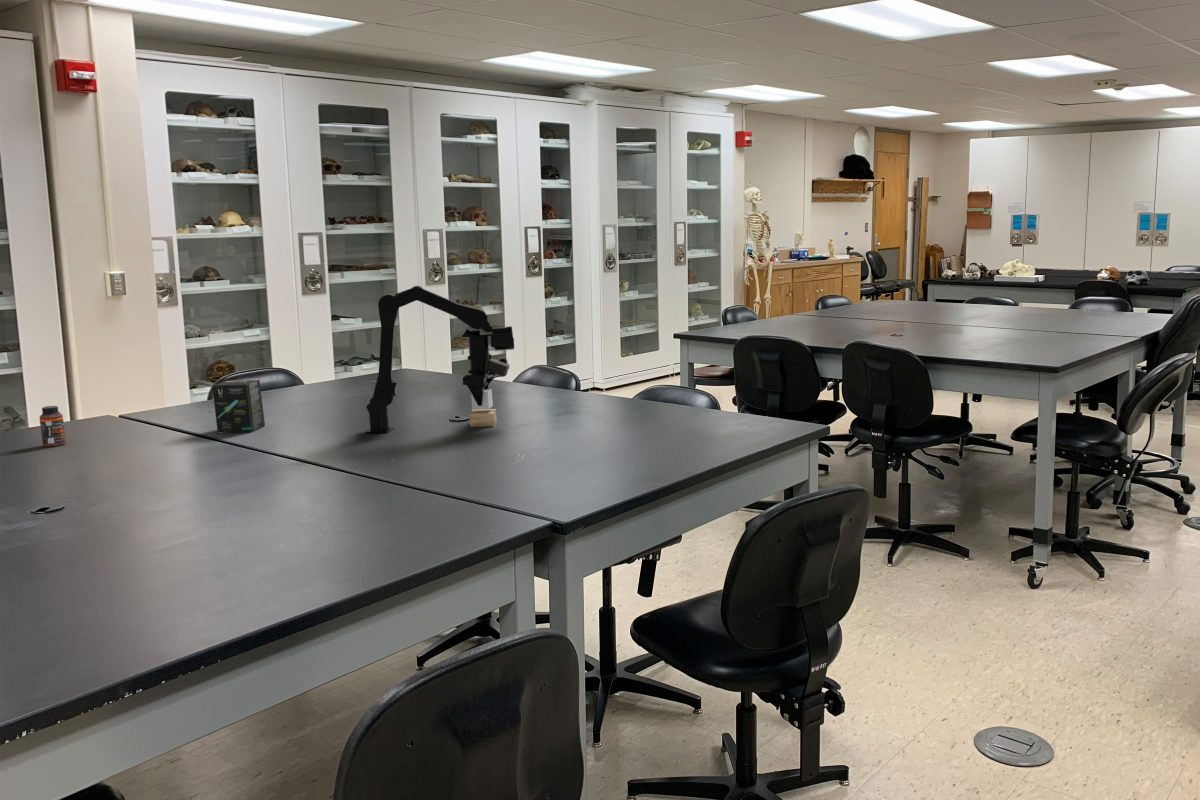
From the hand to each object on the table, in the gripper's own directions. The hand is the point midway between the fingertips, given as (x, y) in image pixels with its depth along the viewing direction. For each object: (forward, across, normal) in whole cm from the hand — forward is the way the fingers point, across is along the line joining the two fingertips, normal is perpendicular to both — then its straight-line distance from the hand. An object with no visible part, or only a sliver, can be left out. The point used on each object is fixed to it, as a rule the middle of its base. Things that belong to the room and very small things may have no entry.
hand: (482, 404), depth 286 cm
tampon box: (+6, -3, +74) cm, 74 cm away
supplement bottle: (+6, -21, +122) cm, 124 cm away
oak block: (+6, 0, 0) cm, 6 cm away
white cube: (+1, 0, 0) cm, 1 cm away
